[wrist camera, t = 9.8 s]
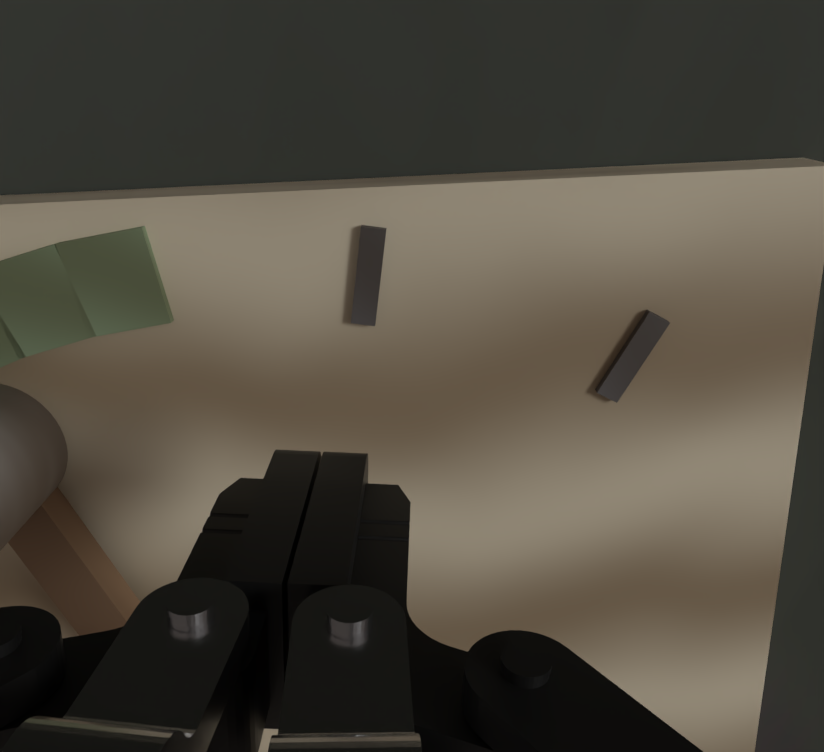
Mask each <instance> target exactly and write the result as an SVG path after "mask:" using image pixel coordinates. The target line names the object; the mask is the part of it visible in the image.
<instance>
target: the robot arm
mask: <svg viewBox="0 0 824 752" xmlns="http://www.w3.org/2000/svg"><path fill="white" fill-rule="evenodd" d="M410 504H411V502H410V501H409V499H408V498H407V496H406V495H405V494H404V492H403V491H402V489H401V488H400V487H399V485H391V484H369V483H368V453H346V452H323V454H322V456H321V452H320V451H299V450H275V451H274V453H273V456H272V458H271V461H270V463H269V466H268V468H267V471H266V473H265V476H264V478H263V479H257V478H240V479H238V480H237V481H236V482H234V483H233V484H232V485H230V486H229V487H228V488H226V489H225V490H224V491H222V492H221V493H220V494H219V496H218V498H217V500H216V502H215V504H214V506H213V508H212V510H211V512H210V517H208V518H207V520H206V522H205V524H204V526H203V528H202V533H200V535H199V537H198V539H197V541H196V543H195V545H194V547H193V549H192V551H191V553H190V555H189V557H188V559H187V561H186V563H185V565H184V567H183V569H182V572H181V574H180V576H179V578H178V580H177V581H176V582H172V583H169V584H167V585H164V586H162V587H160V588H158V589H156V590H154V591H153V592H151V593H150V594H148V595H147V596H146V597H145V598H144V599H143V600H142V601H141V602H140V603H139V604H138V605H137V607H136V608H135V610H134V611H133V613H132V614H131V616H130V617H129V619H128V620H127V622H126V623H125V625H124V626H123V627H120V628H116V629H112V630H108V631H103V632H97V633H91V634H86V635H80V636H74V637H68V638H62V633H61V626H60V624H59V621H58V620H57V618H56V617H55V616H54V615H53V614H51V613H50V612H48V611H46V610H43V609H41V608H36V607H32V606H8V607H0V752H258V751H259V747H260V743H261V739H262V735H263V731H264V729H278V735H272V736H271V739H270V743H269V748H268V752H703V751H702V750H700V749H699V748H698V747H697V746H695V745H694V744H693V743H691V742H690V741H689V740H687V739H686V738H685V737H683V736H682V735H681V734H680V733H678V732H677V731H676V730H674V729H673V728H672V727H670V726H669V725H668V724H666V723H665V722H664V721H663V720H661V719H660V718H659V717H657V716H656V715H655V714H653V713H652V712H651V711H649V710H648V709H647V708H646V707H644V706H643V705H642V704H640V703H639V702H638V701H636V700H635V699H634V698H633V697H631V696H630V695H629V694H627V693H626V692H625V691H623V690H622V689H621V688H619V687H618V686H617V685H616V684H614V683H613V682H612V681H610V680H609V679H608V678H606V677H605V676H604V675H602V674H601V673H600V672H599V671H597V670H596V669H595V668H593V667H592V666H591V665H589V664H588V663H587V662H585V661H584V660H583V659H582V658H580V657H579V656H578V655H576V654H575V653H574V652H572V651H571V650H570V649H568V648H567V647H566V646H564V645H563V644H561V643H560V642H558V641H556V640H554V639H552V638H550V637H547V636H545V635H542V634H538V633H534V632H530V631H522V630H508V631H500V632H496V633H492V634H490V635H487V636H485V637H483V638H482V639H480V640H478V641H477V642H476V643H475V644H474V645H473V646H472V647H471V648H470V650H469V651H468V652H467V651H464V650H460V649H457V648H454V647H451V646H448V645H445V644H442V643H440V642H438V641H436V640H434V639H432V638H431V637H429V636H427V635H426V634H425V633H423V632H422V631H421V630H420V629H419V628H418V627H417V626H416V625H415V624H414V622H413V621H412V619H411V617H410V616H409V613H408V610H407V579H408V554H409V529H410Z"/></svg>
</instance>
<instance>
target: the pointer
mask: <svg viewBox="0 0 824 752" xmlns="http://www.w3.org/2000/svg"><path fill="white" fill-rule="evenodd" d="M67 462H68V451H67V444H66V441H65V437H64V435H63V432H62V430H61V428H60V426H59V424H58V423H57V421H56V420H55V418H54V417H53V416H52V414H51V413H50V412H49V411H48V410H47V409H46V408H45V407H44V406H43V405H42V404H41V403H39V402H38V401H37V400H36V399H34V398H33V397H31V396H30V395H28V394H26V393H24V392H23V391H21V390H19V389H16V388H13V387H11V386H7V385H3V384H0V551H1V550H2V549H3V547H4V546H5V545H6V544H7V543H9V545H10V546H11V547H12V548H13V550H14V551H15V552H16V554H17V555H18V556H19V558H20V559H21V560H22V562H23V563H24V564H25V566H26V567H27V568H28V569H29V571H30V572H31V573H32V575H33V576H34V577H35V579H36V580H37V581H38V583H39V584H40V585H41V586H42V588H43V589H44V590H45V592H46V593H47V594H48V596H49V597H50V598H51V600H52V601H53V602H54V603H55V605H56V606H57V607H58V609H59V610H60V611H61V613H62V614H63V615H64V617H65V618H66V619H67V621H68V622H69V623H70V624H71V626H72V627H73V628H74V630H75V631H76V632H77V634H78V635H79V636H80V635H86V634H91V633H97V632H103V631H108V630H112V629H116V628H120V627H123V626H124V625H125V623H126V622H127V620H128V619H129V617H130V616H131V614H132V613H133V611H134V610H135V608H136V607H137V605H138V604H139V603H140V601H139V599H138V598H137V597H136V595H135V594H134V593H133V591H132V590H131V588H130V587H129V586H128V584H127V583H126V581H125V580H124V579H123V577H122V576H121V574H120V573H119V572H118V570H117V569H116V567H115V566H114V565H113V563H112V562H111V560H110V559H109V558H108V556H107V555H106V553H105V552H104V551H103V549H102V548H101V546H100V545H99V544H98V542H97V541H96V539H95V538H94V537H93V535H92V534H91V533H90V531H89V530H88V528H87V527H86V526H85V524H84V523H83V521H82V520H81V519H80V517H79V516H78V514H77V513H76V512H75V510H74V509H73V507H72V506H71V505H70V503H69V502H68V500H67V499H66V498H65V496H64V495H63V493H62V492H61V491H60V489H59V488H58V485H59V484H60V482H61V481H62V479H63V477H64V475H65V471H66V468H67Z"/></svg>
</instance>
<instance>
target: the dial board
mask: <svg viewBox="0 0 824 752" xmlns="http://www.w3.org/2000/svg"><path fill="white" fill-rule="evenodd" d="M823 265H824V162H820V161H816V160H811V159H807V158H783V159H762V160H741V161H720V162H699V163H678V164H656V165H635V166H614V167H593V168H572V169H550V170H529V171H508V172H487V173H466V174H444V175H423V176H402V177H381V178H360V179H338V180H317V181H296V182H275V183H254V184H232V185H211V186H190V187H169V188H148V189H127V190H105V191H84V192H63V193H42V194H21V195H0V384H3V385H7V386H11V387H13V388H16V389H19V390H21V391H23V392H24V393H26V394H28V395H30V396H31V397H33V398H34V399H36V400H37V401H38V402H39V403H41V404H42V405H43V406H44V407H45V408H46V409H47V410H48V411H49V412H50V413H51V414H52V416H53V417H54V418H55V420H56V421H57V423H58V424H59V426H60V428H61V430H62V432H63V435H64V437H65V441H66V444H67V451H68V462H67V468H66V471H65V475H64V477H63V479H62V481H61V482H60V484H59V485H58V488H59V489H60V491H61V492H62V493H63V495H64V496H65V498H66V499H67V500H68V502H69V503H70V505H71V506H72V507H73V509H74V510H75V512H76V513H77V514H78V516H79V517H80V519H81V520H82V521H83V523H84V524H85V526H86V527H87V528H88V530H89V531H90V533H91V534H92V535H93V537H94V538H95V539H96V541H97V542H98V544H99V545H100V546H101V548H102V549H103V551H104V552H105V553H106V555H107V556H108V558H109V559H110V560H111V562H112V563H113V565H114V566H115V567H116V569H117V570H118V572H119V573H120V574H121V576H122V577H123V579H124V580H125V581H126V583H127V584H128V586H129V587H130V588H131V590H132V591H133V593H134V594H135V595H136V597H137V598H138V599H139V601H140V602H141V601H142V600H143V599H144V598H145V597H146V596H147V595H148V594H150V593H151V592H153V591H154V590H156V589H158V588H160V587H162V586H164V585H167V584H169V583H172V582H176V581H177V580H178V578H179V576H180V574H181V572H182V569H183V567H184V565H185V563H186V561H187V559H188V557H189V555H190V553H191V551H192V549H193V547H194V545H195V543H196V541H197V539H198V537H199V535H200V533H202V528H203V526H204V524H205V522H206V520H207V518H208V517H210V512H211V510H212V508H213V506H214V504H215V502H216V500H217V498H218V496H219V494H220V493H221V492H222V491H224V490H225V489H226V488H228V487H229V486H230V485H232V484H233V483H234V482H236V481H237V480H238V479H240V478H257V479H263V478H264V476H265V473H266V471H267V468H268V466H269V463H270V461H271V458H272V456H273V453H274V451H275V450H299V451H320V452H321V456H322V454H323V452H346V453H368V483H369V484H391V485H399V487H400V488H401V489H402V491H403V492H404V494H405V495H406V496H407V498H408V499H409V501H410V502H411V504H410V529H409V554H408V579H407V610H408V613H409V616H410V617H411V619H412V621H413V622H414V624H415V625H416V626H417V627H418V628H419V629H420V630H421V631H422V632H423V633H425V634H426V635H427V636H429V637H431V638H432V639H434V640H436V641H438V642H440V643H442V644H445V645H448V646H451V647H454V648H457V649H460V650H464V651H467V652H468V651H469V650H470V648H471V647H472V646H473V645H474V644H475V643H476V642H477V641H478V640H480V639H482V638H483V637H485V636H487V635H490V634H492V633H496V632H500V631H508V630H522V631H530V632H534V633H538V634H542V635H545V636H547V637H550V638H552V639H554V640H556V641H558V642H560V643H561V644H563V645H564V646H566V647H567V648H568V649H570V650H571V651H572V652H574V653H575V654H576V655H578V656H579V657H580V658H582V659H583V660H584V661H585V662H587V663H588V664H589V665H591V666H592V667H593V668H595V669H596V670H597V671H599V672H600V673H601V674H602V675H604V676H605V677H606V678H608V679H609V680H610V681H612V682H613V683H614V684H616V685H617V686H618V687H619V688H621V689H622V690H623V691H625V692H626V693H627V694H629V695H630V696H631V697H633V698H634V699H635V700H636V701H638V702H639V703H640V704H642V705H643V706H644V707H646V708H647V709H648V710H649V711H651V712H652V713H653V714H655V715H656V716H657V717H659V718H660V719H661V720H663V721H664V722H665V723H666V724H668V725H669V726H670V727H672V728H673V729H674V730H676V731H677V732H678V733H680V734H681V735H682V736H683V737H685V738H686V739H687V740H689V741H690V742H691V743H693V744H694V745H695V746H697V747H698V748H699V749H700V750H702V751H703V752H754V751H755V744H756V737H757V730H758V723H759V716H760V709H761V702H762V695H763V688H764V681H765V674H766V666H767V659H768V652H769V645H770V638H771V631H772V624H773V617H774V610H775V603H776V596H777V589H778V582H779V575H780V568H781V561H782V554H783V547H784V540H785V533H786V526H787V518H788V511H789V504H790V497H791V490H792V483H793V476H794V469H795V462H796V455H797V448H798V441H799V434H800V427H801V420H802V413H803V406H804V399H805V392H806V385H807V377H808V370H809V363H810V356H811V349H812V342H813V335H814V328H815V321H816V314H817V307H818V300H819V293H820V286H821V279H822V272H823ZM8 606H32V607H36V608H41V609H43V610H46V611H48V612H50V613H51V614H53V615H54V616H55V617H56V618H57V620H58V621H59V624H60V626H61V633H62V638H68V637H74V636H79V635H78V634H77V632H76V631H75V630H74V628H73V627H72V626H71V624H70V623H69V622H68V621H67V619H66V618H65V617H64V615H63V614H62V613H61V611H60V610H59V609H58V607H57V606H56V605H55V603H54V602H53V601H52V600H51V598H50V597H49V596H48V594H47V593H46V592H45V590H44V589H43V588H42V586H41V585H40V584H39V583H38V581H37V580H36V579H35V577H34V576H33V575H32V573H31V572H30V571H29V569H28V568H27V567H26V566H25V564H24V563H23V562H22V560H21V559H20V558H19V556H18V555H17V554H16V552H15V551H14V550H13V548H12V547H11V546H10V545H9V543H7V544H6V545H5V546H4V547H3V549H2V550H1V551H0V607H8ZM272 735H278V729H264V731H263V735H262V739H261V743H260V747H259V751H258V752H268V748H269V743H270V739H271V736H272Z"/></svg>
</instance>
